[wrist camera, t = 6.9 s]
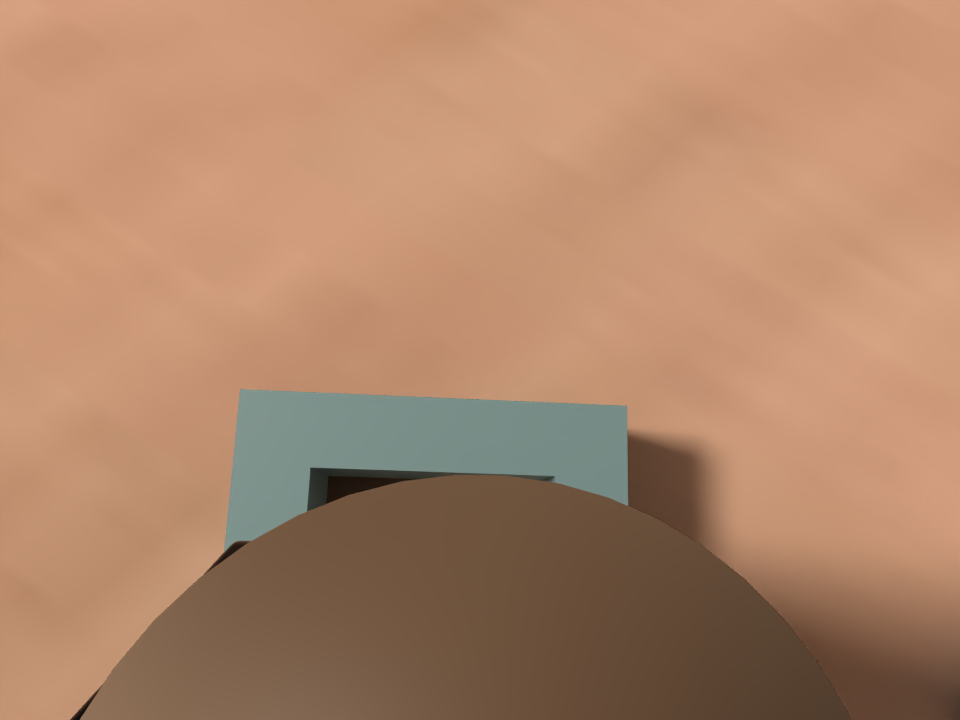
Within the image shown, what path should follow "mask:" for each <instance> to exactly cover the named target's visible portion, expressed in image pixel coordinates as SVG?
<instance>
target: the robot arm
mask: <svg viewBox="0 0 960 720" xmlns="http://www.w3.org/2000/svg"><path fill="white" fill-rule="evenodd" d="M249 542H251V541H236V542H234V543H233V544H232V545H231V546H230V547H229V548H228V549H227V550H226V551H225V552H224V553H223V554H222V555H221V556H220V557H219V558H218V560H217V561H216V562H215V563H214V564H213V565H212V566H211V567H210V568H209V569H208V570H207V572H209V571H210V570H211V569H213V568H214V567H215V566H217V565H218V564H220V563H221V562H222V561H224V560H225V559H226V558H228V557H229V556H230V555H232V554H233V553H235V552H236V551H237V550H239V549H240V548H241V547H243V546H244V545H246V544H247V543H249ZM207 572H206V573H207ZM206 573H205V574H206ZM101 687H102V686H101ZM101 687H100V688H101ZM100 688H99V689H98V690H97V691H96V692H95V693H94V694H93V695H92V697H91V698H90V699H89V700H88V701H87V702H86V703H85V704H84V705H83V706H82V707H81V709H80V710H79V711H78V712H77V713H76V714H75V715H74V716H73V717H72V718H71V719H70V720H80V719H81V717H82V716H83V714H84V713H85V711H86V709H87V708H88V706H89V705H90V703H91V702H92V700H93V699H94V697H95V696H96V694H97V693H98V691H99V690H100Z"/></svg>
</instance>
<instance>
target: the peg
mask: <svg viewBox="0 0 960 720" xmlns="http://www.w3.org/2000/svg"><path fill="white" fill-rule="evenodd" d="M80 720H851V718H850V716H849V714H848V711H847V710H846V708H845V706H844V705H843V703H842V701H841V700H840V698H839V696H838V695H837V693H836V692H835V690H834V688H833V687H832V685H831V683H830V682H829V680H828V678H827V677H826V675H825V673H824V672H823V670H822V668H821V667H820V665H819V664H818V662H817V661H816V659H815V658H814V657H813V655H812V654H811V653H810V652H809V650H808V649H807V648H806V646H805V645H804V644H803V643H802V641H801V640H800V639H799V638H798V636H797V635H796V634H795V632H794V631H793V630H792V629H791V627H790V626H789V625H788V623H787V622H786V621H785V620H784V618H783V617H782V616H781V615H780V614H779V613H778V612H777V611H776V610H775V609H774V608H773V607H772V606H771V605H770V604H769V603H768V602H767V601H766V600H765V599H764V598H763V597H762V596H761V595H760V594H759V593H758V592H757V591H756V590H755V589H754V588H753V587H752V586H751V585H750V584H749V583H748V582H747V581H746V580H745V579H744V578H743V577H742V576H740V575H739V574H738V573H736V572H735V571H734V570H733V569H731V568H730V567H729V566H728V565H726V564H725V563H724V562H722V561H721V560H720V559H719V558H717V557H716V556H715V555H713V554H712V553H711V552H710V551H708V550H707V549H706V548H705V547H703V546H702V545H700V544H699V543H697V542H695V541H694V540H692V539H690V538H689V537H687V536H685V535H684V534H682V533H680V532H679V531H677V530H675V529H674V528H672V527H670V526H669V525H667V524H665V523H663V522H662V521H660V520H658V519H657V518H655V517H652V516H650V515H648V514H645V513H643V512H641V511H639V510H636V509H634V508H632V507H629V506H627V505H625V504H622V503H620V502H618V501H615V500H613V499H611V498H608V497H605V496H602V495H598V494H595V493H591V492H588V491H584V490H580V489H577V488H573V487H570V486H566V485H563V484H559V483H554V482H547V481H540V480H533V479H526V478H519V477H512V476H493V475H451V476H442V477H434V478H426V479H418V480H409V481H401V482H397V483H393V484H390V485H386V486H382V487H378V488H374V489H370V490H366V491H362V492H358V493H355V494H351V495H347V496H345V497H342V498H340V499H337V500H335V501H332V502H330V503H327V504H325V505H322V506H320V507H317V508H315V509H312V510H310V511H307V512H305V513H302V514H300V515H297V516H296V517H294V518H292V519H290V520H288V521H287V522H285V523H283V524H281V525H279V526H278V527H276V528H274V529H272V530H270V531H269V532H267V533H265V534H263V535H261V536H260V537H258V538H256V539H254V540H252V541H251V542H249V543H247V544H246V545H244V546H243V547H241V548H240V549H239V550H237V551H236V552H235V553H233V554H232V555H230V556H229V557H228V558H226V559H225V560H224V561H222V562H221V563H220V564H218V565H217V566H215V567H214V568H213V569H211V570H210V571H209V572H207V573H206V574H204V575H203V576H202V577H200V578H199V579H198V580H197V581H196V582H195V583H194V584H193V585H192V586H190V587H189V588H188V589H187V590H186V591H185V592H184V593H183V594H182V595H181V596H180V597H179V598H178V599H177V600H175V601H174V602H173V603H172V604H171V605H170V606H169V607H168V608H167V609H166V610H165V611H164V612H163V613H162V614H160V615H159V616H158V617H157V618H156V619H155V620H154V621H153V622H152V624H151V625H150V626H149V627H148V628H147V630H146V631H145V632H144V633H143V634H142V635H141V637H140V638H139V639H138V640H137V641H136V643H135V644H134V645H133V646H132V647H131V648H130V650H129V651H128V652H127V653H126V654H125V656H124V657H123V658H122V659H121V660H120V662H119V663H118V664H117V665H116V666H115V667H114V669H113V670H112V672H111V673H110V675H109V676H108V678H107V679H106V681H105V682H104V684H103V685H102V687H101V688H100V690H99V691H98V693H97V694H96V696H95V697H94V699H93V700H92V702H91V703H90V705H89V706H88V708H87V709H86V711H85V713H84V714H83V716H82V717H81V719H80Z"/></svg>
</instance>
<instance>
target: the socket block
mask: <svg viewBox="0 0 960 720" xmlns="http://www.w3.org/2000/svg"><path fill="white" fill-rule="evenodd" d="M451 475H493V476H512V477H519V478H526V479H533V480H540V481H547V482H554V483H559V484H563V485H566V486H570V487H573V488H577V489H580V490H584V491H588V492H591V493H595V494H598V495H602V496H605V497H608V498H611V499H613V500H615V501H618V502H620V503H622V504H625V505H627V506H628V450H627V406H619V405H596V404H572V403H549V402H526V401H502V400H479V399H456V398H432V397H409V396H386V395H362V394H339V393H316V392H292V391H269V390H245V389H240V397H239V407H238V417H237V427H236V437H235V447H234V457H233V468H232V478H231V488H230V498H229V508H228V518H227V528H226V538H225V549H224V552H225V551H226V550H227V549H228V548H229V547H230V546H231V545H232V544H233V543H234V542H236V541H252V540H254V539H256V538H258V537H260V536H261V535H263V534H265V533H267V532H269V531H270V530H272V529H274V528H276V527H278V526H279V525H281V524H283V523H285V522H287V521H288V520H290V519H292V518H294V517H296V516H297V515H300V514H302V513H305V512H307V511H310V510H312V509H315V508H317V507H320V506H322V505H325V504H327V491H328V477H329V476H341V477H370V478H399V479H426V478H434V477H442V476H451Z"/></svg>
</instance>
